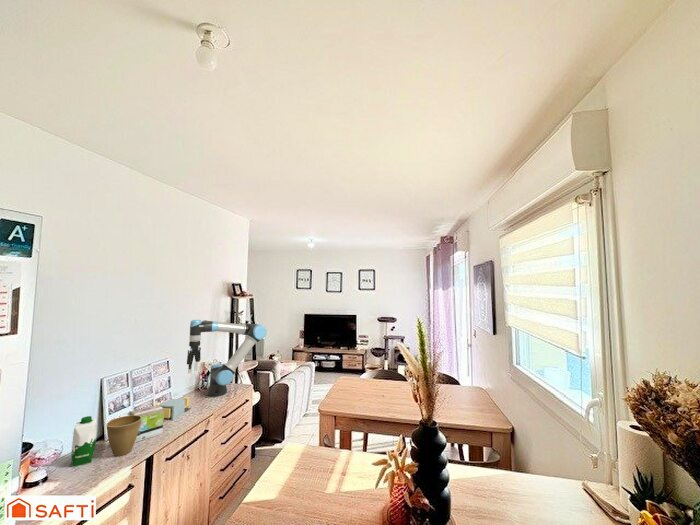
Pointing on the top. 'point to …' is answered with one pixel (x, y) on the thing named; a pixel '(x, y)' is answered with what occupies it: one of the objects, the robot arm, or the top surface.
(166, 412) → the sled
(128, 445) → the plant pot
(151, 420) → the tea box
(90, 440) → the milk carton
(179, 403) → the tunnel
